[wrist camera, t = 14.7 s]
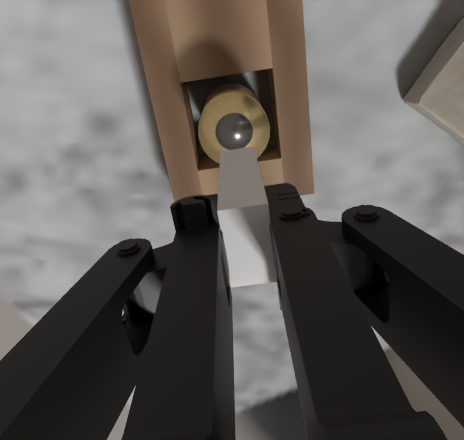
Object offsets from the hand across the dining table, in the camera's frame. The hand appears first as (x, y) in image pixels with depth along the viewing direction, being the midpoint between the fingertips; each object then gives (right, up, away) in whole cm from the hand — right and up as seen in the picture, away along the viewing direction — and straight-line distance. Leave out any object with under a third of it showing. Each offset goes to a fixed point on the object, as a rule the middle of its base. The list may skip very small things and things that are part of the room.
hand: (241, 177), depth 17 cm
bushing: (0, +8, +16) cm, 18 cm away
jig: (-1, +11, +15) cm, 18 cm away
